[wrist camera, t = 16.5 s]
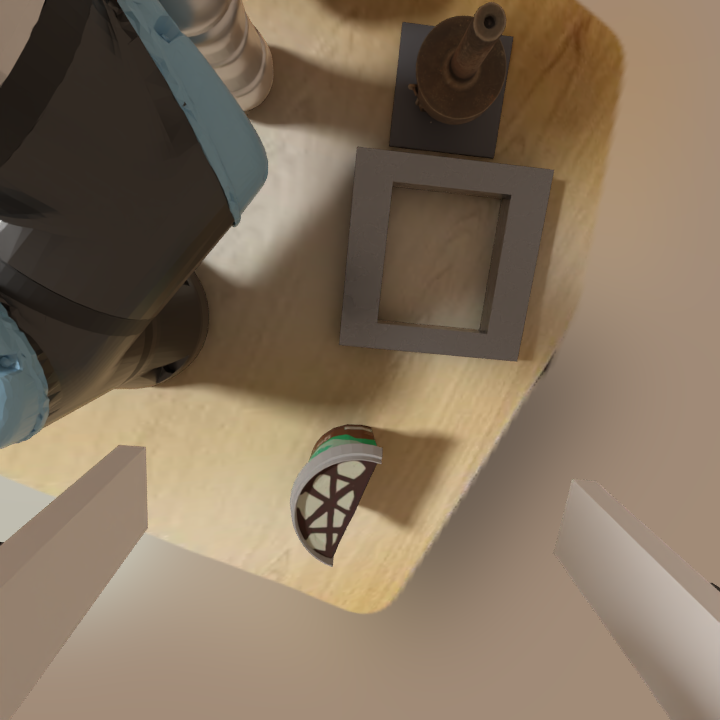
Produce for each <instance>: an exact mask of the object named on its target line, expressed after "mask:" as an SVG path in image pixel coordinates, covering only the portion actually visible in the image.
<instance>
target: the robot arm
mask: <svg viewBox="0 0 720 720" xmlns="http://www.w3.org/2000/svg"><path fill="white" fill-rule="evenodd" d="M267 175H268V159H267V156H266V151H265V148H264V146H263V144H262V142H261V140H260V137H259V136H258V134H257V132H256V130H255V129H254V127H253V125H252V124H251V122H250V120H249V119H248V117H247V116H246V114H245V113H244V111H243V110H242V108H241V107H240V105H239V104H238V102H237V101H236V99H235V98H234V96H233V95H232V94H231V92H230V91H229V89H228V88H227V87H226V85H225V84H224V82H223V81H222V80H221V78H220V77H219V76H218V74H217V73H216V72H215V70H214V69H213V68H212V66H211V65H210V64H209V62H208V61H207V60H206V58H205V57H204V56H203V54H202V53H201V52H200V51H199V50H198V48H197V47H196V46H195V45H194V43H193V42H192V41H191V40H190V38H189V37H187V36H186V35H185V34H183V33H182V32H181V31H180V30H179V27H178V25H177V24H176V23H175V21H174V20H173V19H172V18H171V17H170V16H169V14H168V13H167V12H166V10H165V9H164V7H163V6H162V5H161V3H160V2H159V1H158V0H0V449H2V448H4V447H7V446H9V445H12V444H14V443H20V442H22V441H26V440H28V439H30V438H31V437H32V436H33V435H35V434H37V433H38V432H39V431H40V430H41V429H42V428H44V427H46V426H48V425H50V424H51V423H53V422H55V421H57V420H59V419H60V418H62V417H64V416H66V415H68V414H69V413H71V412H73V411H75V410H77V409H78V408H80V407H82V406H84V405H86V404H87V403H89V402H91V401H93V400H95V399H96V398H98V397H100V396H102V395H104V394H106V393H107V392H109V391H111V390H113V389H138V388H145V387H150V386H154V385H157V384H160V383H162V382H164V381H166V380H168V379H170V378H172V377H173V376H175V375H176V374H178V373H180V372H181V371H182V370H184V369H185V368H186V367H187V366H189V365H190V364H191V363H192V361H193V360H194V359H195V358H196V356H197V355H198V354H199V352H200V350H201V348H202V346H203V344H204V342H205V339H206V335H207V331H208V325H209V311H208V303H207V299H206V295H205V292H204V290H203V287H202V285H201V283H200V281H199V279H198V277H197V275H196V274H195V272H194V270H195V269H196V268H197V267H198V266H199V264H200V263H201V262H202V261H203V260H204V258H205V257H206V256H207V255H208V254H209V252H210V251H211V250H212V249H213V248H214V246H215V245H216V244H217V243H218V242H219V240H220V239H221V238H222V237H223V236H224V234H225V233H226V232H227V231H228V230H229V228H230V227H231V226H232V227H236V226H237V225H238V224H239V222H240V219H241V214H242V213H243V212H244V210H245V209H246V208H247V206H248V205H249V204H250V202H251V201H252V200H253V198H254V197H255V196H256V194H257V193H258V192H259V191H260V189H261V188H262V186H263V185H264V183H265V181H266V179H267ZM147 528H148V518H147V477H146V447H139V446H126V445H118V446H117V447H116V448H115V449H114V450H113V451H111V452H110V453H109V454H108V455H107V456H105V457H104V458H103V459H102V460H101V461H100V462H98V463H97V464H96V465H95V466H94V467H93V468H91V469H90V470H89V471H88V472H87V473H85V474H84V475H83V476H82V477H81V478H80V479H78V480H77V481H76V482H75V483H74V484H72V485H71V486H70V487H69V488H68V489H67V490H65V491H64V492H63V493H62V494H61V495H59V496H58V497H57V498H56V499H55V500H54V501H52V502H51V503H50V504H49V505H48V506H47V507H45V508H44V509H43V510H42V511H41V512H39V513H38V514H37V515H36V516H35V517H34V518H32V519H31V520H30V521H29V522H28V523H26V524H25V525H24V526H23V527H22V528H21V529H19V530H18V531H17V532H16V533H15V534H14V535H12V536H11V537H10V538H9V539H8V540H6V541H5V542H0V720H10V719H11V718H12V716H13V715H14V714H15V712H16V711H17V709H18V708H19V707H20V705H21V704H22V702H23V701H24V700H25V698H26V697H27V696H28V694H29V693H30V691H31V690H32V689H33V687H34V686H35V684H36V683H37V682H38V680H39V678H40V677H41V676H42V675H43V673H44V672H45V670H46V669H47V667H48V666H49V664H50V663H51V662H52V661H53V659H54V658H55V656H56V655H57V654H58V652H59V651H60V649H61V648H62V647H63V645H64V644H65V642H66V641H67V640H68V638H69V637H70V635H71V634H72V633H73V631H74V630H75V628H76V627H77V626H78V624H79V623H80V622H81V620H82V619H83V617H84V616H85V615H86V613H87V612H88V610H89V609H90V608H91V606H92V604H93V603H94V602H95V601H96V599H97V598H98V596H99V595H100V594H101V592H102V591H103V589H104V588H105V587H106V585H107V584H108V583H109V581H110V580H111V578H112V577H113V576H114V574H115V573H116V571H117V570H118V569H119V567H120V566H121V564H122V563H123V562H124V560H125V559H126V557H127V556H128V555H129V553H130V552H131V550H132V549H133V548H134V546H135V545H136V543H137V542H138V541H139V539H140V538H141V536H142V535H143V534H144V532H145V531H146V529H147ZM554 555H555V556H556V558H557V559H558V560H559V562H560V563H561V565H562V566H563V568H564V569H565V570H566V572H567V573H568V574H569V576H570V577H571V579H572V580H573V582H574V583H575V584H576V586H577V587H578V589H579V590H580V592H581V593H582V594H583V596H584V597H585V599H586V600H587V602H588V603H589V604H590V606H591V607H592V609H593V610H594V612H595V613H596V614H597V616H598V617H599V619H600V620H601V622H602V623H603V624H604V626H605V627H606V629H607V630H608V631H609V633H610V634H611V635H612V637H613V638H614V640H615V641H616V643H617V644H618V646H619V647H620V648H621V650H622V651H623V653H624V654H625V656H626V657H627V658H628V660H629V661H630V663H631V664H632V666H633V667H634V668H635V670H636V671H637V673H638V674H639V675H640V677H641V678H642V680H643V681H644V683H645V684H646V685H647V687H648V688H649V690H650V691H651V692H652V694H653V695H654V697H655V698H656V700H657V701H658V702H659V704H660V705H661V707H662V708H663V709H664V711H665V712H666V714H667V715H668V717H669V718H670V719H671V720H720V588H719V587H718V586H716V585H715V584H713V583H709V582H708V581H707V580H706V579H705V578H704V577H703V576H701V575H700V574H699V573H698V572H697V571H696V570H694V568H693V567H691V566H690V565H689V564H688V563H687V562H686V561H685V560H684V559H682V558H681V557H680V556H679V555H678V554H677V553H676V552H675V551H674V550H672V549H671V548H670V547H669V546H668V545H667V544H666V543H665V542H663V541H662V540H661V539H660V538H659V537H658V536H657V535H655V534H654V533H653V532H652V531H651V530H650V529H649V528H648V527H647V526H646V525H644V524H643V523H642V522H641V521H640V520H639V519H638V518H637V517H636V516H634V515H633V514H632V513H631V512H630V511H629V510H628V509H627V508H625V507H624V506H623V505H622V504H621V503H620V502H619V501H617V499H615V498H614V497H613V496H612V495H611V494H610V493H609V492H608V491H607V490H605V489H604V488H603V487H602V486H601V485H600V484H599V483H598V482H596V481H593V480H580V479H572V482H571V486H570V490H569V494H568V498H567V502H566V506H565V510H564V514H563V518H562V521H561V525H560V529H559V533H558V537H557V541H556V545H555V549H554Z"/></svg>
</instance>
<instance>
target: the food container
mask: <svg viewBox="0 0 720 720" xmlns="http://www.w3.org/2000/svg"><path fill="white" fill-rule="evenodd" d="M381 459H382V448H381V447H378V446H377V445H376V442H375V439H374V435H373V432H372V429H371V428H370V427H367V426H363V425H349V424H347V425H343V426H340V427H336V428H333V429H332V430H330V431H329V432H327V433H325V434H324V435H323V436H322V437H321V438H320V439H319V440H318V441H317V443H316V444H315V446H314V448H313V451H312V454H311V457H310V460H309V462H308V463H307V464H306V465H305V466H304V467H303V469H302V470H301V471H300V472H299V474H298V476H297V478H296V480H295V482H294V484H293V488H292V491H291V498H290V509H291V517H292V522H293V526H294V529H295V531H296V534H297V536H298V538H299V540H300V541H301V543H302V544H303V546H304V547H305V548H306V550H307V551H308V552H309V553H310V554H311V555H312V556H314V557H315V558H316V559H317V560H319V561H321V562H322V563H324V564H326V565H329V566H331V567H333V557H334V554H335V552H336V549H337V547H338V544H339V542H340V540H341V538H342V536H343V534H344V532H345V530H346V528H347V526H348V524H349V522H350V521H351V519H352V517H353V515H354V513H355V511H356V508H357V506H358V504H359V501H360V499H361V497H362V495H363V492H364V490H365V488H366V486H367V484H368V482H369V479H370V477H371V475H372V473H373V471H374V469H375V467H376V465H377V463H379V464H382V461H381Z"/></svg>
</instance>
